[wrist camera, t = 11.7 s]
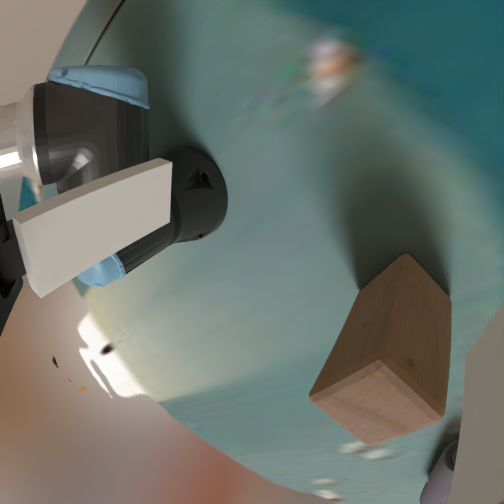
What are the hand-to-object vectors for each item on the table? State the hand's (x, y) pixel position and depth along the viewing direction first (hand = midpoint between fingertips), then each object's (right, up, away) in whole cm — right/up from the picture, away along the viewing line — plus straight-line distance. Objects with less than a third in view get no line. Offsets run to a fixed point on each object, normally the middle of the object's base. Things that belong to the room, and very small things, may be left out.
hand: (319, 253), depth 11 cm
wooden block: (+18, -6, +29) cm, 35 cm away
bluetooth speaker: (+40, -44, +36) cm, 70 cm away
